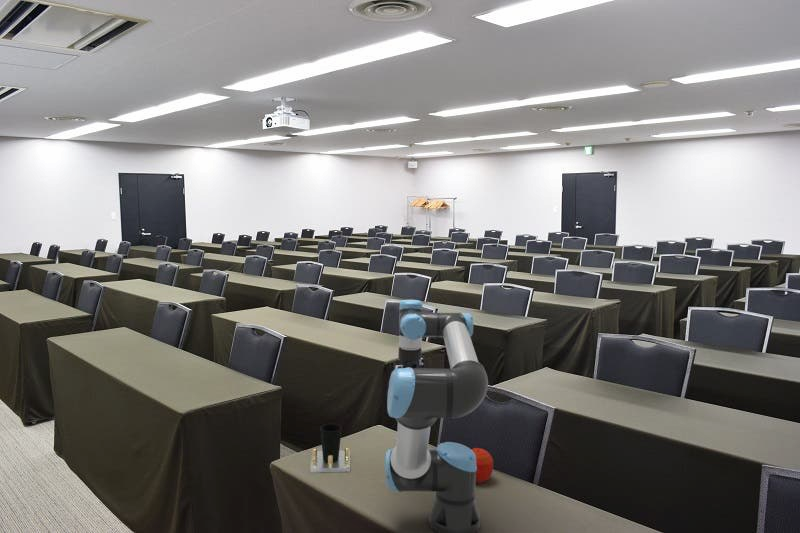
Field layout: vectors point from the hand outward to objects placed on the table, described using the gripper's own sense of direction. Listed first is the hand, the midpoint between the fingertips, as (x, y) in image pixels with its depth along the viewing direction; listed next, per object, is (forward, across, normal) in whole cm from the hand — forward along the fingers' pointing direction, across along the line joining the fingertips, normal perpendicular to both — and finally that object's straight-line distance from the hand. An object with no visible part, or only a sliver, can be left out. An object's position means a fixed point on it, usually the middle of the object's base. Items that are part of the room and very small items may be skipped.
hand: (408, 410), depth 185 cm
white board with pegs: (+27, +5, -32) cm, 42 cm away
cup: (+25, +5, -32) cm, 41 cm away
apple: (+27, -20, +15) cm, 37 cm away
